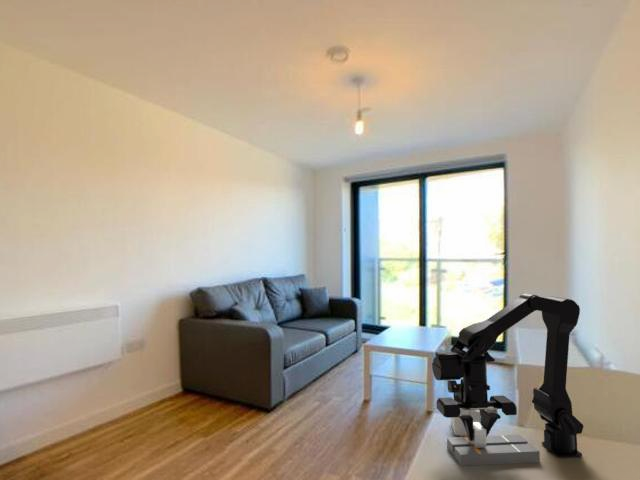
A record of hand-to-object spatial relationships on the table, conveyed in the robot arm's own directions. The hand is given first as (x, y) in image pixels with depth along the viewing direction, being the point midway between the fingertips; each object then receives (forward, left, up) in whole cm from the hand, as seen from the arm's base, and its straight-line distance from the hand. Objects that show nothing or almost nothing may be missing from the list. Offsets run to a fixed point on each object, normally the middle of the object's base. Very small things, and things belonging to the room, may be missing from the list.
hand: (476, 439), depth 91 cm
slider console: (-4, 0, -4) cm, 5 cm away
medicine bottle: (-3, -12, -4) cm, 13 cm away
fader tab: (0, 0, -2) cm, 2 cm away
